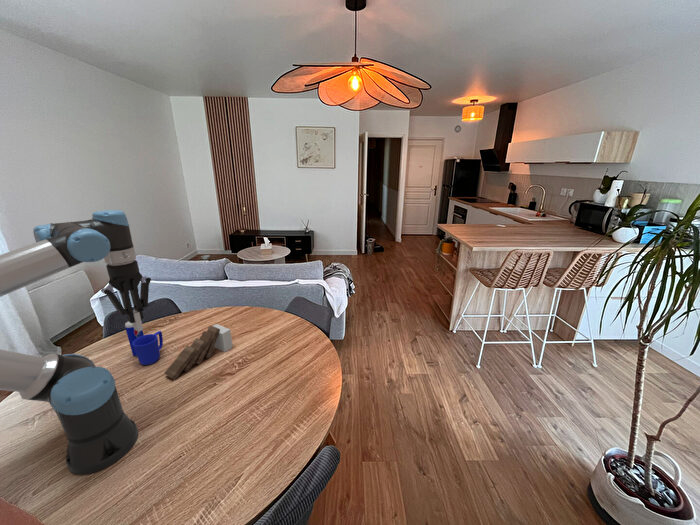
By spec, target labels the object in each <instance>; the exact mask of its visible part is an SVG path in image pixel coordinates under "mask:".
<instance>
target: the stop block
mask: <svg viewBox="0 0 700 525" xmlns="http://www.w3.org/2000/svg"><path fill="white" fill-rule="evenodd" d="M212 326H213V327H216V328H218V329H220V331H219V334H218V337H217V340H216V343H215V346H214V349H217V350H219V351H222V352H224V353H227V352H228V351H230V350H231V349H233V347H234V346H233V345H234V344H233V339H232V333H231V329H230V328H228V327H225V326H222V325H220V324H217V323H216V324H213V325H212Z"/></svg>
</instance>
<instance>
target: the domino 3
mask: <svg viewBox="0 0 700 525" xmlns="http://www.w3.org/2000/svg"><path fill="white" fill-rule="evenodd" d="M214 336H215V335H213V334H211V333H208V332H207V331H205V330H203V332H202V333H201V335H200V337H199V339H200V340H202V341H204V342H206V343H207V344H206V345H205V347H204V348H203V350H202V351H201V353H200V354H199V356H198V357H197V359H196V360H195V362H194V363H195V364H197V365H201V364H202V361H203V360H204V358H205V357H204V356H205V354H206V352H207V350H208V348H209V346H210V344H211V342H212V340H213V338H214Z"/></svg>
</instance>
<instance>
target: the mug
mask: <svg viewBox="0 0 700 525" xmlns="http://www.w3.org/2000/svg"><path fill="white" fill-rule="evenodd" d="M163 338H164V337H163V333H162V331H161V330H158V331H156V332H155V333H148V334H144V335H143V336H141V337H138V338H137V339H135V340H134V341H133V343H132V345H133V347H134V350H135V352H136V355H137V356H136V357H137V361H138V362H139V363H140V364H141V365H143V366H148V365H151V364H154V363H156V362H157V361H158V360H159V359H160V356H161V354H160V353H161V352H160V351H161V349H162V348H163V345H164V339H163Z"/></svg>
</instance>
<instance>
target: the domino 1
mask: <svg viewBox="0 0 700 525" xmlns="http://www.w3.org/2000/svg"><path fill="white" fill-rule="evenodd" d="M190 346H191V345H188V344H186V346H185V347H184V348H183V350H181V351H180V353H179V354H178V356H177V357H175V359H174V360H173V362H171V364H170V366H168V368H167V369H166V371H165V372H164V375H166V376H168V377H169V378H171V379H173V380H176V379H178V377H179V376H180V374H181V373H182V372H183V371H184V370H183V369H184V368H185V367H186V365H187V364H188V363H189V361H190V360H191V359H192V358H193V356H194V355H195V354H196V353H197V350H196V349H194V348H192V347H190Z"/></svg>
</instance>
